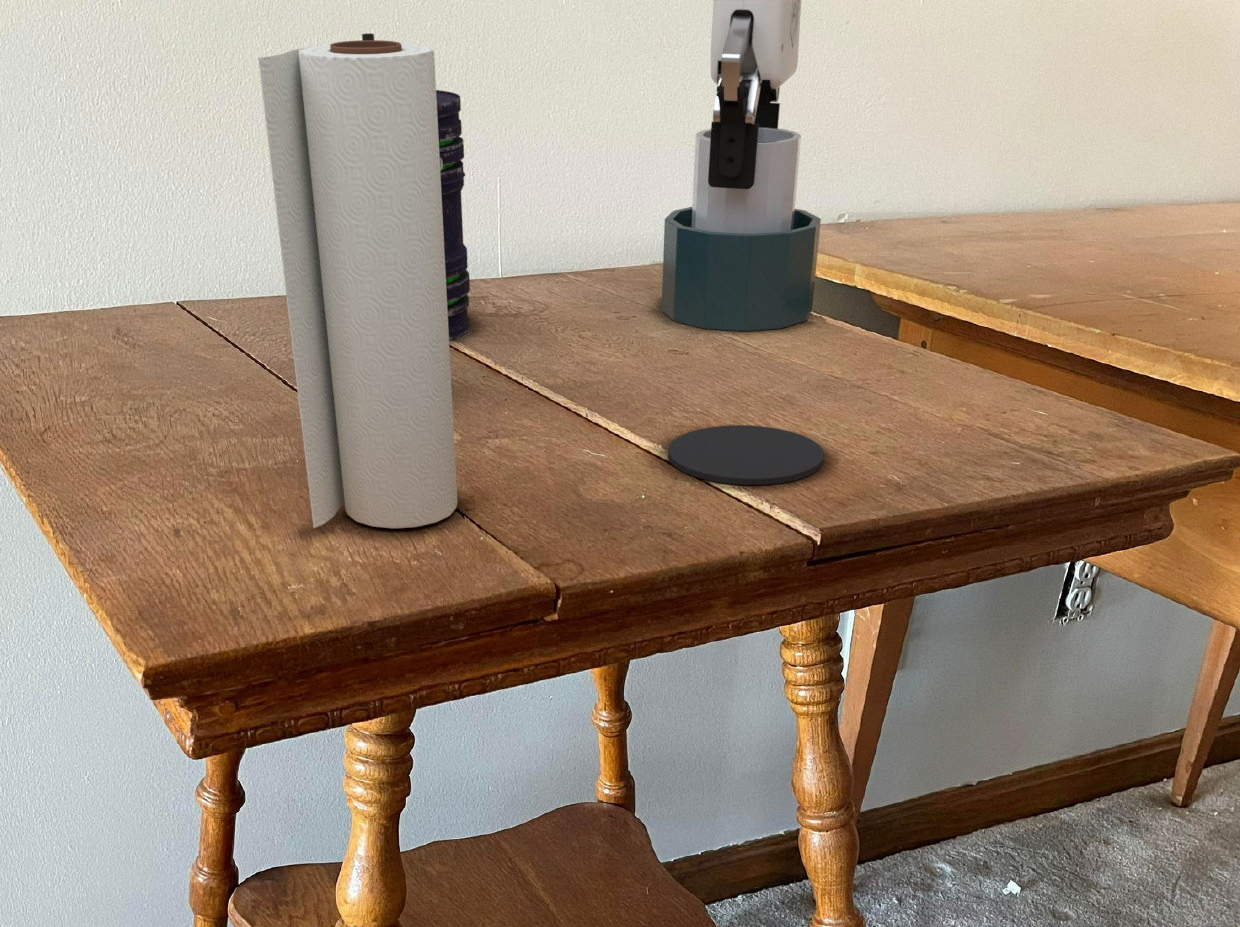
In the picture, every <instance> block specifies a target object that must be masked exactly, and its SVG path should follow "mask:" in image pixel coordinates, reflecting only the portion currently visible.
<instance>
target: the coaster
mask: <svg viewBox="0 0 1240 927" xmlns="http://www.w3.org/2000/svg"><path fill="white" fill-rule="evenodd" d="M667 457H668V461H669V462H670V464H671V465H672V466H673V467H674V468H676V469H677V470H678V471H680V472H682V473H684V474H686V475H689V476H692V477H694V478H697V479H701V480H704V481H710V482H714V483H719V484H728V485H737V486H765V485H766V486H767V485H777V484H784V483H790V482H794V481H798V480H801V479H805V478H806V477H807V478H808V477H809V476H811V475H814V474H815V473H816V472H817V471H819V470H820V469H821V467H822V466H823V464H824V460H825V459H824V458H825V453H824V450H823V448H822V446H820V445H819V444H818V442H816V441H814V440H813V439H811V438H810V437H807V436H806V435H802V434H799V433H797V432H793V431H790V430H786V429H780V428H776V427H769V426H760V425H741V424H738V425H735V424H734V425H718V426H711V427H704V428H700V429H696V430H692V431H689V432H685V433H683V434H681V435H679V436H677V437H676V438H674V439H673V440H672V441H671V442H670V444H669V445H668V449H667Z"/></svg>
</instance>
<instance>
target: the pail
mask: <svg viewBox="0 0 1240 927" xmlns="http://www.w3.org/2000/svg"><path fill="white" fill-rule="evenodd" d="M821 220H822V219H821V217H818V216H817V215H814V214H813V213H811V212H808V211H807V210H804V209H798V208H795V212H794V224H793V230H790V231H786V232H772V233H756V234H742V233H724V232H710V231H705V230H700V229H695V228H691V227H692V206H687V207H685V208H679V209H676V210H672V211H671V212H670V213H669V214H668V215H667V216H665V218H664V229H663V230H664V231H663V257H662V282H661V284H662V286H661V290H662V291H661V312H662V313H664V314H665V315H666V316H667V317H668V318H669V319H670V320H672V322H676V323H680V324H683V325H688V326H692V327H696V328H700V329H705V330H719V331H735V332H754V331H765V330H767V331H768V330H779V329H780V330H781V329H784V328H787V327H790V326H794V325H797V324H800V323H804V322H806V321H808V319H809V317H810V315H811V313H812V311H813V305H814V304H813V303H814V294H815V282H816V275H817V274H816V272H817V262H818V253H819V242H820V230H821V222H822V221H821Z"/></svg>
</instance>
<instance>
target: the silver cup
mask: <svg viewBox="0 0 1240 927" xmlns="http://www.w3.org/2000/svg"><path fill="white" fill-rule="evenodd" d="M710 140H711V128H707V129H704V130H700V131H698V132H697V133H696V134H695V142H694V144H695V145H694V166H693V185H692V186H693V187H692V188H693V189H692V206H691V207H692V227H691V228H695V229H700V230H705V231H710V232H724V233H742V234H756V233H772V232H786V231H790V230H793V224H794V212H795V209H796V199H797V189H798V188H797V187H798V178H799V164H800V153H801V143H802V135H801V134H800V133H798V132H797V131H793V130H790V129H784V128H778V129H777V128H768V127H759V130H758V143H757V155H756V168H755V181H754V185H753V186H752V187H751V188H750V189H735V188H718V187H711V186H710V185H709V183H708V173H709V156H710Z"/></svg>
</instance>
